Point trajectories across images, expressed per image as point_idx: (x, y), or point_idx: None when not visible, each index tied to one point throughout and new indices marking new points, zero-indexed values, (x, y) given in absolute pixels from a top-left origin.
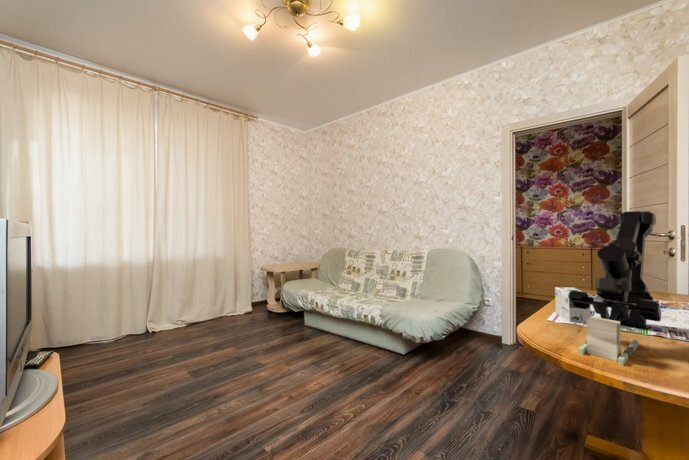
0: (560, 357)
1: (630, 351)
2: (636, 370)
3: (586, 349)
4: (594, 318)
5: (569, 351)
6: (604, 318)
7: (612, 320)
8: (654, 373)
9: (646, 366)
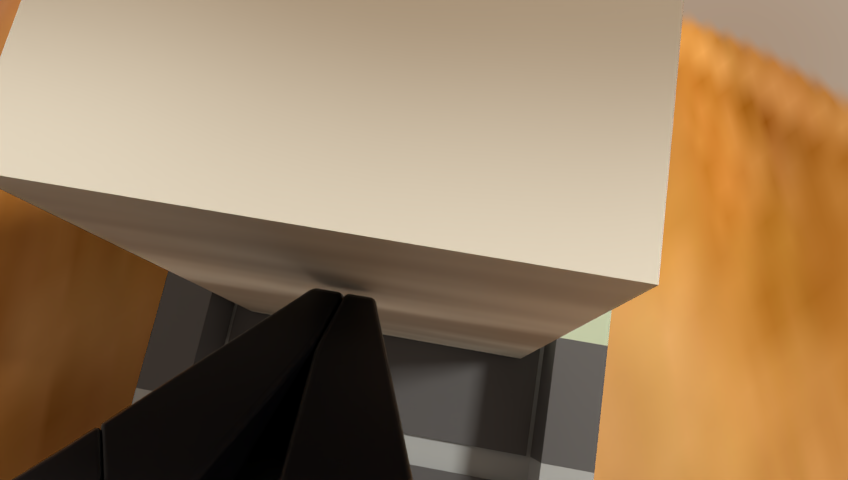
0: (733, 49)
1: (138, 394)
2: None
3: None
4: (547, 101)
5: (706, 260)
6: (325, 456)
7: (131, 168)
8: None
9: (73, 294)
